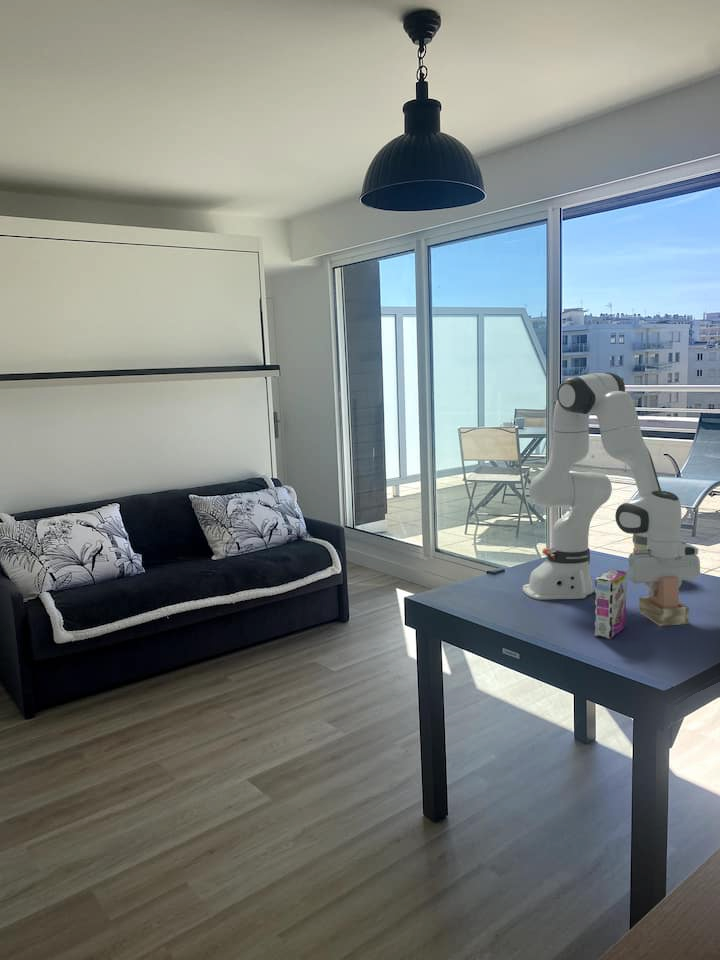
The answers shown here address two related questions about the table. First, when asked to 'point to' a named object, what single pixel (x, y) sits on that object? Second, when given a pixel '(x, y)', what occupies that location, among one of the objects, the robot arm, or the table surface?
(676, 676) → the table surface
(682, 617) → the slot holder
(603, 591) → the candy bar box
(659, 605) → the peach block
